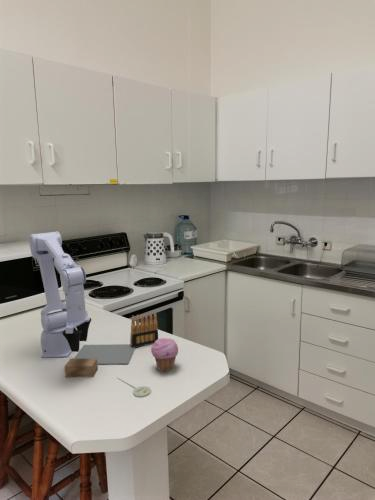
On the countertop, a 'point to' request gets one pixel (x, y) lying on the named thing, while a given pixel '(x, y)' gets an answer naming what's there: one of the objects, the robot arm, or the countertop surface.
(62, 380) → the countertop surface
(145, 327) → the ammunition clip
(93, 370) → the card box
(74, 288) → the robot arm
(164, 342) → the cupcake
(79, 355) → the mat
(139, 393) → the sign
